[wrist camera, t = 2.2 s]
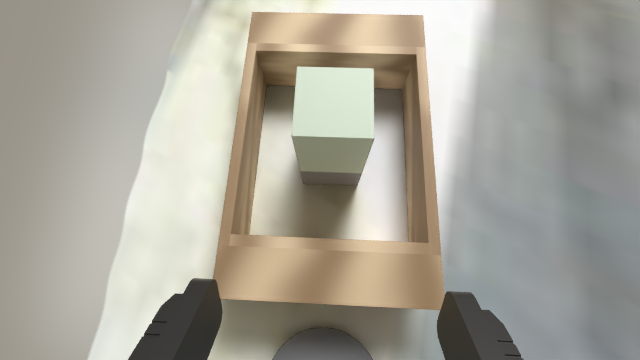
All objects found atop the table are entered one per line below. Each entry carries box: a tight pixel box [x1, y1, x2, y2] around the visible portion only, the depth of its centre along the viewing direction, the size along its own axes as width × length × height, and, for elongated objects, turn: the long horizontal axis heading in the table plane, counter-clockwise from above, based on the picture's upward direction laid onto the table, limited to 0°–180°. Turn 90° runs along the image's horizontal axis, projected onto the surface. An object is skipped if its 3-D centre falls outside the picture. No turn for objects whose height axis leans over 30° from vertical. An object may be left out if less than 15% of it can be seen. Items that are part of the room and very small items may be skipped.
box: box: [291, 67, 374, 186], centre depth 23 cm, size 5×5×10 cm
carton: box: [213, 12, 444, 310], centre depth 26 cm, size 16×25×5 cm, turn 177°
